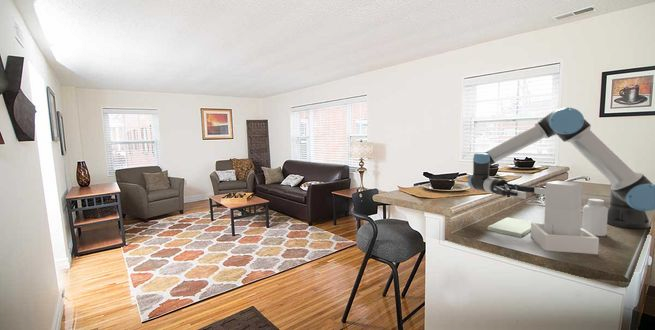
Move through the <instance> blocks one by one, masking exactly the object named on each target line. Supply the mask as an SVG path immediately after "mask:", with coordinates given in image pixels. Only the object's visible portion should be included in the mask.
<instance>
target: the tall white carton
mask: <svg viewBox="0 0 655 330" xmlns="http://www.w3.org/2000/svg"><path fill="white" fill-rule="evenodd" d="M583 185H584V183H583V182H576V181H575V182H574V181H568V180H567V181H566V180H558V179H557V180H552V181H548V182H545V189H546V195H544V196H545V197H544V198H545V204H544V231H545V232H546V233H547V234H549V235H566V236H580V229H581V228H582V210H583V207H582V204H583V201H582V200H583Z"/></svg>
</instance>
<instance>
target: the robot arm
mask: <svg viewBox="0 0 655 330" xmlns="http://www.w3.org/2000/svg"><path fill="white" fill-rule="evenodd" d="M591 126H592V125H591V123H589V121H587V119H585V118H584V114H583V113H582V112H581V111H579V110H578V109H577V108H573V107H561V108H558V109H555V110H553V111H551V112H550V113H549V114H547V115H546V116H544V117H543V118H542V119H540V120H538V121H537V122H535V124H534V125H533V126H531V127H530V128H528V129H525V130H523V131H522V132H520V133H518V134H516V135H514V136H513V137H511V138H509V139H507V140H505V141H504V142H501V143H500V144H498V145H496V146H494V147H492V148H491V149H489V150H487V151H485V152H478V153H474V154H473V159H472V163H473V164H472V166H473V167H472V171H473V172H472V175H470V176H469V177H468V180H467V184H468V186H469V187H470V188H471V189H473V190H477V191H482V192H487V193H489V194H491V195H492V194H495V195H501V196H503V197H504V196H506V197H507V198H511V197H515V198H517V199H523V200H526V199H527V193H534V194H535V195H537V194H538V195H542V196H546V188H541V187H539V186H538V185H523V184H516V183H515V184H513V183H508V181H507V180H505V179H502V178H497V177H490V166H491V165H493V164H495V163H498V162H499V161H500V162H501V161H502V160H504V159H505V158H507V157H510V156H512V155H514V154H515V153H517V152H519V151H521V150H523V149H525V148H527V147H530V146H531V145H533V144H535V143H537V142H539V141H541V140H542V139H549V138H551V137H554V136H558V138H559V139H561V141H563V143H570V145H572V146H573V147H574V148H575V149H576V150H577V151H578V152H579V153H580V154H581V155H582V156H583V157H584V158H585V159H586V160H587V161H588V162H589V163H590V164H591V165H592V166H593V167H594V168H595V170H597V171H598V172H599V173H601V175H603V176H604V177H605V179H607V181H608V182H609V184H610V193H609V205H608V206H609V207H607V209H608V217H607V225H612V226H616V227H619V228H628V229H640V230H641V229H642V230H643V229H648V228H650V220H649V217H648V214H647V212H650V211H655V184H654V183H652V182H651V181H650V180H649V179H648V178H647V177H646V176H645V175H644V174H643V173H641V172H635V171H633V169H631V167H629V166H628V165H627V164H626V163H625V162H624V160H622V159H621V158H620V157H619V156H618V155H617V154H616V153H614V151H613V150H612V149H610V148H609V147H608V146H607V145H606V144H605V143H604V142H603V141H602V140H601V139H600V138H599V137H598V136H597V135H596V134H595V133H594V132H593V131H592V130H591Z"/></svg>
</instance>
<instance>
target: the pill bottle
mask: <svg viewBox="0 0 655 330" xmlns="http://www.w3.org/2000/svg"><path fill="white" fill-rule="evenodd" d="M582 210H583V211H582V219H581V228H583V229H585V230H586V231H588V232H589V233H591V234H593V235H594V236H596V237H605V236H606V235H607V229H608V223H607V217H608V207H606V206H605V200H603V199H600V198H588V199H587V204H585V205H584V206H583V207H582Z"/></svg>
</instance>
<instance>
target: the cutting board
mask: <svg viewBox="0 0 655 330" xmlns="http://www.w3.org/2000/svg"><path fill="white" fill-rule="evenodd" d="M531 223H538V222H537V221H535V222H534V221H529V220H524V219H520V218H514V217H508V216H507V217H505V218H502V219H500V220H499V221H496V222H494V223H493V224H490V225H488V226H487V230H488V231H491V232H497V233H501V234H506V235H510V236H514V237H519V238H522V237H523V236H525V235H527V234H529V233H531Z"/></svg>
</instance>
